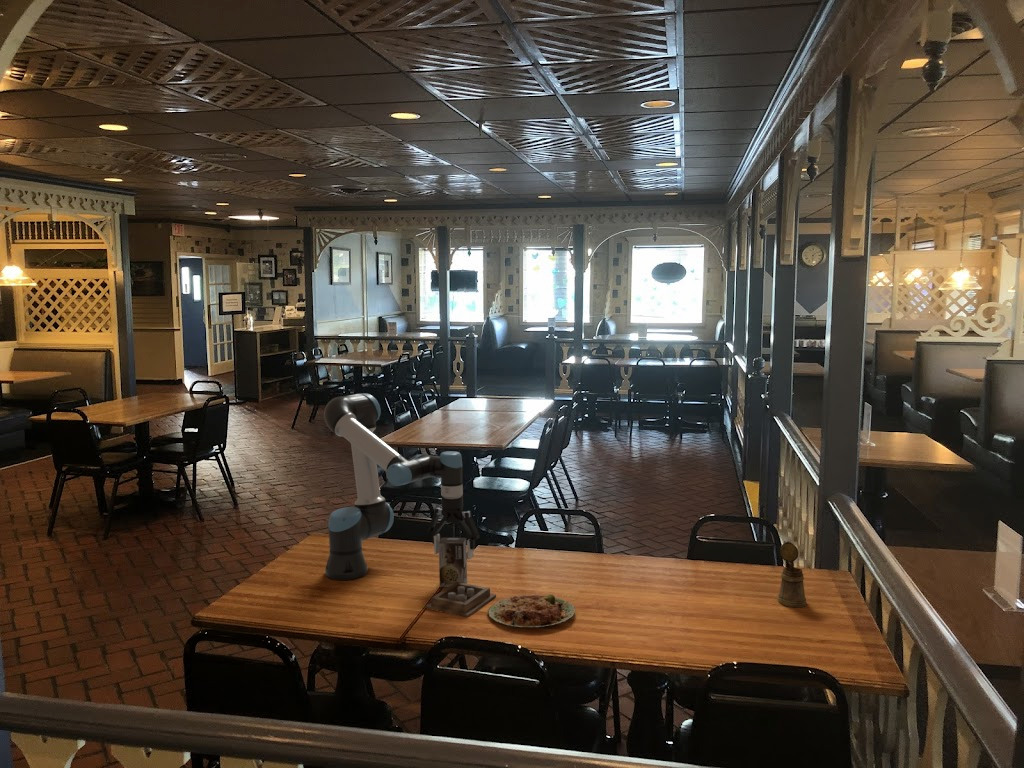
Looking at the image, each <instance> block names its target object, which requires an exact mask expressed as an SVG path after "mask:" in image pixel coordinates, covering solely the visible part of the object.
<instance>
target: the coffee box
mask: <svg viewBox="0 0 1024 768" xmlns="http://www.w3.org/2000/svg"><path fill="white" fill-rule="evenodd" d="M438 545H439V553H438V561H439V562H438V565H439V570H438V571H439V588H448V587H450V586H451V585H453V584H454V583H456V582H460V583H465V584H468V565H467V564H468V562H467V560H468V554H467V537H440V542H439V543H438Z"/></svg>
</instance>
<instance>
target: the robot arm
mask: <svg viewBox="0 0 1024 768" xmlns="http://www.w3.org/2000/svg"><path fill="white" fill-rule="evenodd" d="M381 413H382V411H381V405H380V403H379V402H378V400H377V398H375V397H374V396H373V395H371V394H370V393H356V394H355V393H354V394H349V395H343V396H337V397H334V398H332V399H330V401H328V403H326V406H325V408H324V411H323V418H324V419H323V420H324V423H325V424H326V426H327V428H328V429H329V430H330V431H331V432H332V433H334V435H336V436H338V437H342V438H344V439H346V440H347V441H348V442H349V443H350V446H351V454H352V462H353V463H352V464H353V470H354V471H353V472H354V479H355V487H356V495H357V499H356V500H355V502H354V506H347V507H342V508H338V509H335V510H334V511H332V512H330V514H329V517H328V523H327V524H328V525H327V527H328V539H329V542H328V543H329V555H328V558H327V561H326V566H325V568H324V569H325V570H324V571H325V577H326V578H328V579H331V580H334V581H335V580H336V581H349V580H355V579H359V578H362V577H364V576H365V575H367V574H368V564H367V562H366V560H365V556H364V553H363V544H362V543H363V541H365V540H368V539H371V538H373V537H376V536H380V535H383V534H384V533H386V532H388V531H389V530H390V529H391V527H392V526H393V524H394V518H395V517H394V511H393V508H392V507H391V505H390V504H389V503H388V502H387V501H386V498H385V497H384V496H383V495H381V489H380V481H379V480H380V479H379V473H378V466H379V467H380V468H381V469H382V470H384V471H385V472H386V479H387V480H388V482H389V483H390V484H391V485H393V486H395V487H396V486H397V487H398V486H404V485H407V484H411V483H413V482H417V481H420V480H424V479H428V478H435V479H440V493H441V496H442V497H441V498H440V499H441V501H440V502H441V507H440V506H439V507H436V508H434V510H433V516H432V518H431V520H430V523H429V525H428V527H427V530H426V533H427V534H431V539H432V541H431V543H432V545H434V546H433V552H434V555H439V545H438V543H439V542H440V540H441V535H440V533H439V532H440V531H441V529H442V528H443V527H444V526H445V524H446V523H448V524H449V523H452V524H456V525H458V526H459V527H460V529H461V530H462V531H463V533H464V535H465V536H466V538H467V539H468V540H466V554H467V560H470V559H472V558H474V550H475V549H476V540H478V539H479V538H481V535H480V532H479V530H478V528H477V526H476V524H475V521H474V519H473V516H472V515H473V514H472V511H471V510H467V511H464V510H463V508H464V495H463V494H464V491H463V490H464V488H463V487H464V486H463V465H464V464H463V460H462V459H463V457H462V454H461V452H459V451H452V450H451V451H450V450H448V451H443V452H441V453H440V455H439V456H438V455H431V454H426V453H425V454H417V455H415V456H414V458H412V459H407V458H406V457H404V456H403V455H402V454H399V453H398V452H397V450H395V449H394V448H393V447H391V446H390V445H389V444H387V443H386V442H385V441H383V439H381V438H379V436H378V435H376V434H375V433H374V432H375V430H376V428H377V423H376V422H377V421H378V420H380V417H381ZM441 515H442V517H441V520H440V521H439V518H440V516H441ZM438 521H439V522H438ZM437 523H438V524H437Z"/></svg>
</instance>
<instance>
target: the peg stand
mask: <svg viewBox="0 0 1024 768" xmlns="http://www.w3.org/2000/svg"><path fill="white" fill-rule="evenodd" d="M496 597H497V594H495V593H491V589H490V587H486V586H482V585H475V584H470V583H466V584H465V583H460V582H456V583H454V584H453V585H451V586H450V587H445V589H444V590H442V591H440V592H438V593H436V595H434V596H432V597H431V599H430V600H431V601H430V602H429V603H428V604H426V605H425V606H424V609H425V608H428V609H427V610H430V609H433V610H432V611H435V610H438V611H437V612H439V611H442V612H441V613H444V612H447V613H446V614H449V613H451V614H450V615H454V614H455V616H458V615H459V617H463V618H469V617H471V616H472V615H473V614H475V613H476V612H477V611H479V610H480V609H481V608H483V607H484V606H485V604H486V605H487V604H488V603H491V601H492V600H494V599H495V598H496ZM482 606H483V607H482ZM478 609H479V610H478Z"/></svg>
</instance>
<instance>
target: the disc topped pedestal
mask: <svg viewBox="0 0 1024 768" xmlns="http://www.w3.org/2000/svg"><path fill="white" fill-rule="evenodd" d="M779 547H780V548H779V555H780V558H781V559H782V560H783V561H784V562H785V567H783V568H782V571H781V574H780V578H781V582H780V587H779V593H778V594H777V602H778V603H779V604H780V605H782V606H785V607H790V608H803V607H806V606H807V604H808V603H807V598H806V593H805V586H804V584H805V583H804V580H805V577H804V572H803V570H802V568H798V567H795V564H794V561H796V560H797V559H798V558H799V549H798V548H797V547H798V546H796V545H795V544H794V543H792V542H791V541H789V540H788V541H785V542H784V543H783V544H781V546H779Z"/></svg>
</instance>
